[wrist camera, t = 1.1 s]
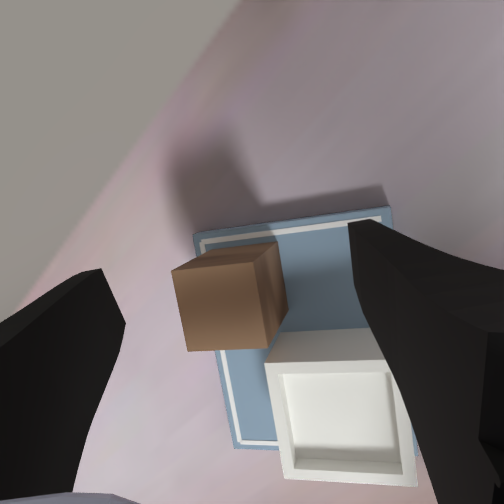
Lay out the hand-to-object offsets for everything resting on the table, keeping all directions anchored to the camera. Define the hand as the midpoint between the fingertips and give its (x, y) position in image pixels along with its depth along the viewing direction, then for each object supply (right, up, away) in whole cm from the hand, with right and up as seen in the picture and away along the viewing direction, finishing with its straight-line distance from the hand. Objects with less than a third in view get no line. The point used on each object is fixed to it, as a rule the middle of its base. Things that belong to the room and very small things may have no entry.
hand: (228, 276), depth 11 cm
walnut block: (0, -1, +11) cm, 11 cm away
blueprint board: (+4, -4, +12) cm, 13 cm away
